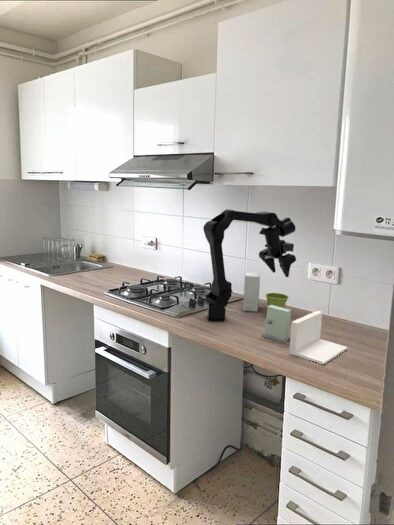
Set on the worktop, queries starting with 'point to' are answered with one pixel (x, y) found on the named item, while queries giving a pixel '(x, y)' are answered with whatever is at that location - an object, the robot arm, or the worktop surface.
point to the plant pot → (276, 299)
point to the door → (278, 322)
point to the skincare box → (251, 292)
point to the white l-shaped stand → (310, 340)
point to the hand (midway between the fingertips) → (280, 274)
